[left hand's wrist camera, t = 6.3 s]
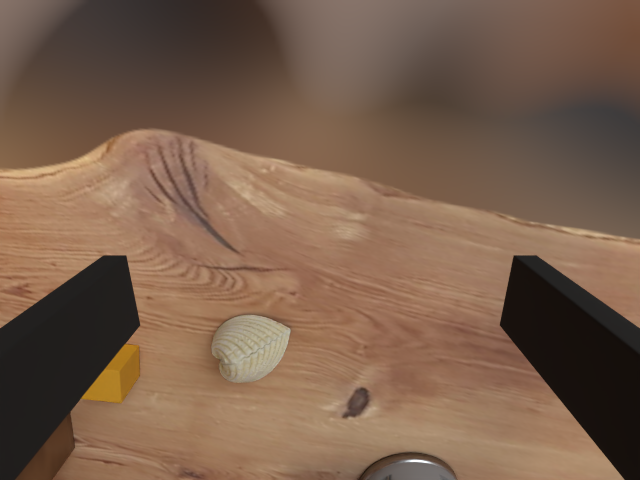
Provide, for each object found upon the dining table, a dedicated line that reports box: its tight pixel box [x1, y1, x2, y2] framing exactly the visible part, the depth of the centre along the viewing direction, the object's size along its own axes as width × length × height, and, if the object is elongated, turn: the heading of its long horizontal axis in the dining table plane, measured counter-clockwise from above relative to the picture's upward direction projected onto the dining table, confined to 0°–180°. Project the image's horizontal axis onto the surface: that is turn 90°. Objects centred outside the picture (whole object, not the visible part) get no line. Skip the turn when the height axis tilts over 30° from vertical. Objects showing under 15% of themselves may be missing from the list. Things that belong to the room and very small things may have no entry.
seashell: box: [211, 315, 291, 383], centre depth 44 cm, size 8×8×8 cm
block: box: [81, 344, 140, 403], centre depth 45 cm, size 5×5×5 cm
